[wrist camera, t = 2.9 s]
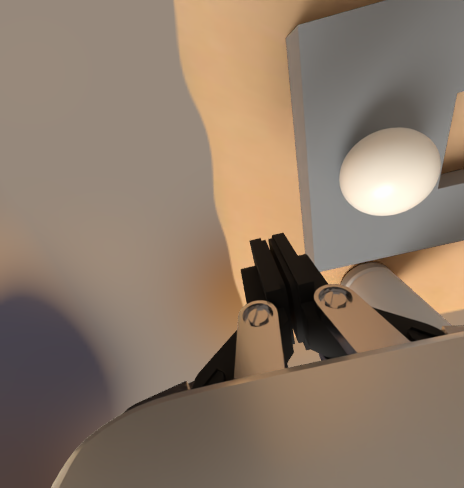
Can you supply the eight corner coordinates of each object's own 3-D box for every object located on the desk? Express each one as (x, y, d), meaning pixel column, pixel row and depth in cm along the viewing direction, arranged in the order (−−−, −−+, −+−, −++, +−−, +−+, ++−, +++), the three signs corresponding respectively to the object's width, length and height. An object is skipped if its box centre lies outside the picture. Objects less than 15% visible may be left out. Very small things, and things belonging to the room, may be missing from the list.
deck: (285, 38, 18) (297, 25, 15) (568, -41, 16) (634, -70, 14) (305, 257, 27) (315, 272, 25) (484, 217, 26) (514, 229, 23)
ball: (325, 136, 18) (369, 145, 13) (403, 116, 18) (481, 117, 13) (327, 207, 21) (364, 238, 16) (395, 191, 21) (455, 217, 16)
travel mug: (397, 258, 28) (697, 496, 11) (379, 300, 31) (587, 537, 14) (346, 259, 28) (571, 506, 10) (333, 301, 31) (487, 546, 13)
